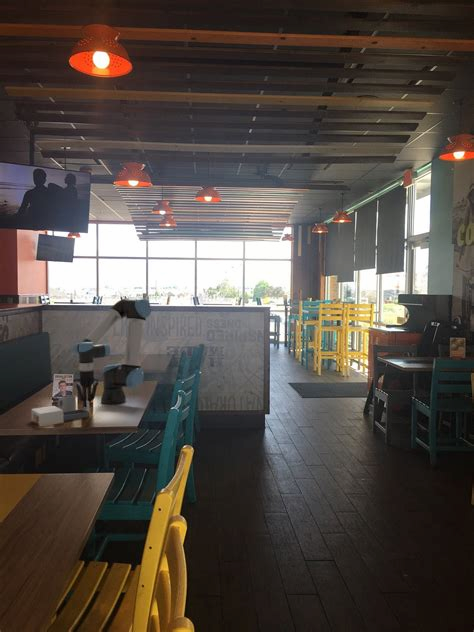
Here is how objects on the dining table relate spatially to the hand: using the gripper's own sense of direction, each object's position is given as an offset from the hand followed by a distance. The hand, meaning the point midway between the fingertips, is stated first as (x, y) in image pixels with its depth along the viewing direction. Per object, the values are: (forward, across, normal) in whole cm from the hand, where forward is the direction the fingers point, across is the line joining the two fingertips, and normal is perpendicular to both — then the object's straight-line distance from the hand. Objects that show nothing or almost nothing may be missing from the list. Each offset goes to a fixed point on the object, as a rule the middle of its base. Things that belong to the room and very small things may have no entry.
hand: (87, 412), depth 287 cm
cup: (+2, -6, +17) cm, 18 cm away
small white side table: (+2, -22, 0) cm, 22 cm away
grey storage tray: (+2, -8, 0) cm, 8 cm away
